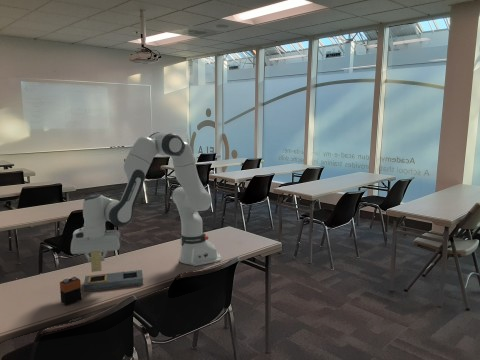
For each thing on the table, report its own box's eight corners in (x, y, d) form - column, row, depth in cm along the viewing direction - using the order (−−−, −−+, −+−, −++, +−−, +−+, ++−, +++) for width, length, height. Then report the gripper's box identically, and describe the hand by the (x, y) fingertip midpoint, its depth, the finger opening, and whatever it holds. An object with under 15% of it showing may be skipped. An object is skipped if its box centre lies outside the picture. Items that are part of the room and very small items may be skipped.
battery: (60, 302, 152) (59, 279, 150) (76, 296, 157) (75, 274, 155) (65, 306, 149) (64, 282, 147) (82, 300, 154) (80, 277, 153)
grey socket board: (142, 275, 178) (141, 269, 178) (143, 284, 169) (142, 277, 169) (85, 282, 171) (85, 275, 170) (83, 291, 162) (83, 284, 161)
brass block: (101, 267, 169) (100, 248, 168) (101, 270, 165) (100, 251, 164) (92, 268, 168) (91, 249, 166) (91, 271, 164) (90, 252, 163)
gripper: (119, 227, 170) (120, 256, 172) (70, 230, 164) (72, 260, 166) (119, 231, 164) (120, 261, 166) (69, 235, 158) (70, 266, 160)
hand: (96, 261), depth 166 cm, fingers closed on brass block, 4 cm apart
